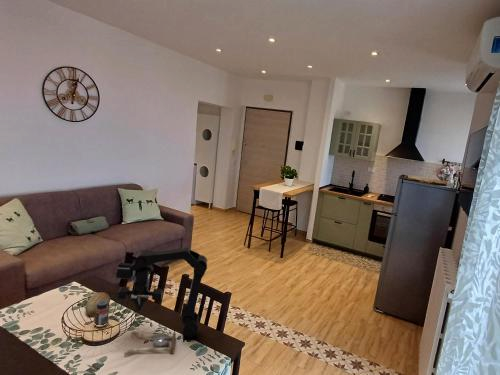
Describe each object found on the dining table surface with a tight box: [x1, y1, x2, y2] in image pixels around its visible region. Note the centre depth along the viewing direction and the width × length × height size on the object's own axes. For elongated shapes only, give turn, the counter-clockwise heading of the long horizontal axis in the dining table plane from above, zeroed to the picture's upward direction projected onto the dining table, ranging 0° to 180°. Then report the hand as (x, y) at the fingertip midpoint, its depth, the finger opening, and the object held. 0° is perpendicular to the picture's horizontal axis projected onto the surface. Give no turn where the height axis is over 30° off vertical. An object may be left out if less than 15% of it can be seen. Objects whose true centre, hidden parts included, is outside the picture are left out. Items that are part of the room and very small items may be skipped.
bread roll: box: [84, 291, 111, 317], centre depth 163 cm, size 10×15×8 cm, turn 179°
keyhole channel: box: [123, 330, 177, 357], centre depth 143 cm, size 20×14×3 cm
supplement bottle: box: [93, 301, 110, 325], centre depth 152 cm, size 6×6×11 cm
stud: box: [152, 332, 170, 348], centre depth 143 cm, size 7×7×4 cm
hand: (139, 310), depth 147 cm, fingers closed
